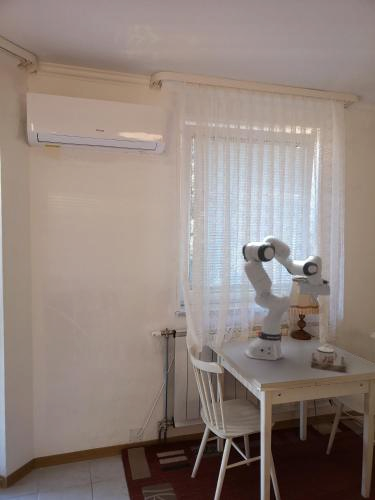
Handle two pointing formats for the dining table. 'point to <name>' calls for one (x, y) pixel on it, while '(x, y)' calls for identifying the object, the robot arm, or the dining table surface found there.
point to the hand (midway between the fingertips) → (313, 301)
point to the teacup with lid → (326, 355)
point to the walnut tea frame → (328, 365)
